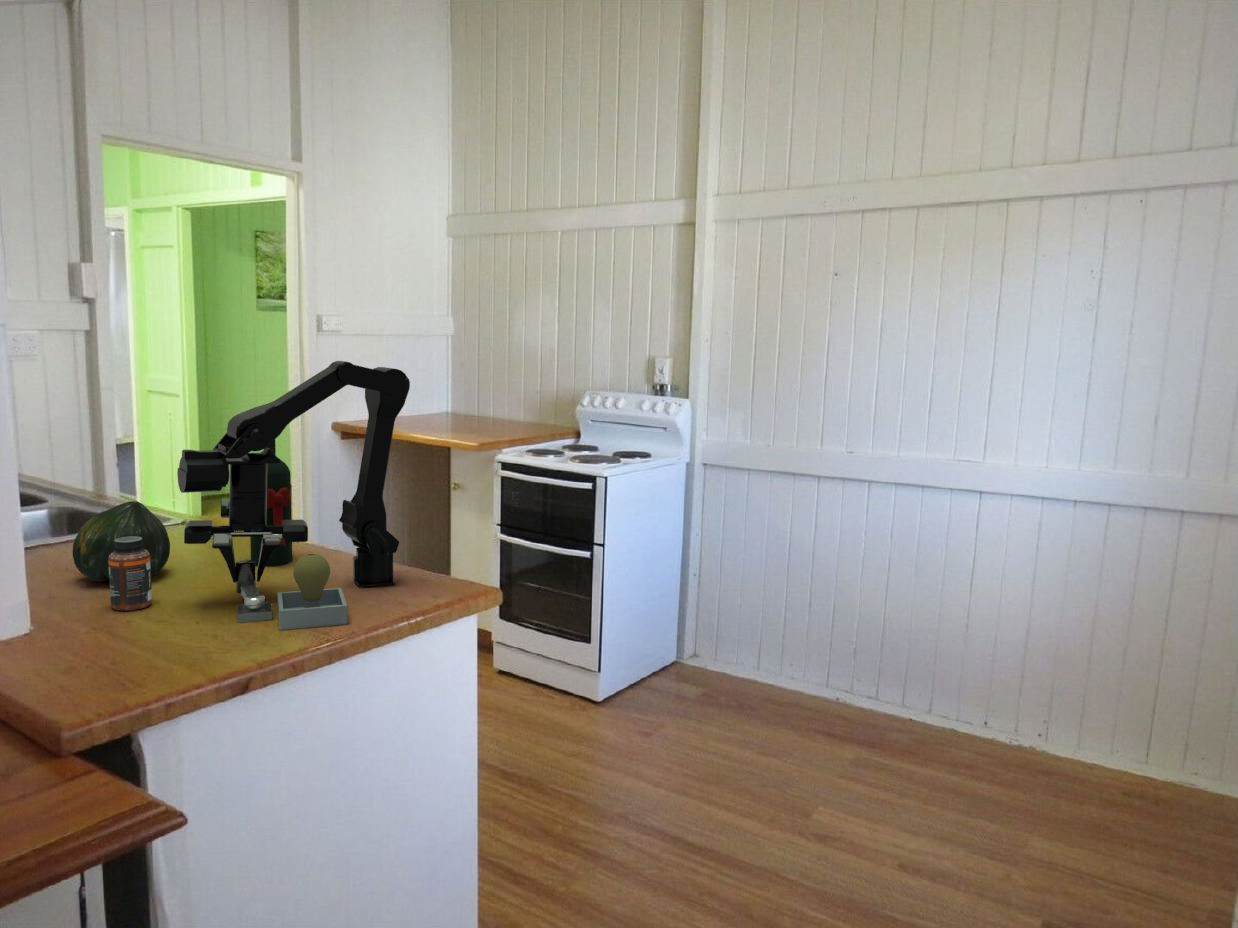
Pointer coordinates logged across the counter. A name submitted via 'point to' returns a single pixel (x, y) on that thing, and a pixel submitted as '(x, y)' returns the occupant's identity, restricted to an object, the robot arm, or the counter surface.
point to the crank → (248, 584)
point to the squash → (117, 523)
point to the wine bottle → (276, 511)
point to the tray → (311, 610)
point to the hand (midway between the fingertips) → (246, 581)
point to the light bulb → (311, 578)
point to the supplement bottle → (130, 575)
